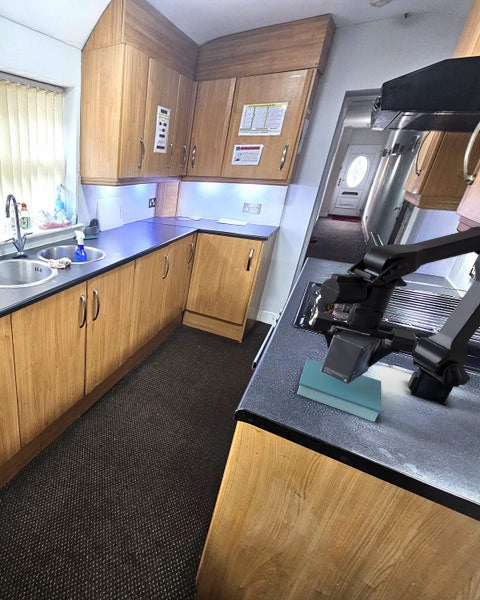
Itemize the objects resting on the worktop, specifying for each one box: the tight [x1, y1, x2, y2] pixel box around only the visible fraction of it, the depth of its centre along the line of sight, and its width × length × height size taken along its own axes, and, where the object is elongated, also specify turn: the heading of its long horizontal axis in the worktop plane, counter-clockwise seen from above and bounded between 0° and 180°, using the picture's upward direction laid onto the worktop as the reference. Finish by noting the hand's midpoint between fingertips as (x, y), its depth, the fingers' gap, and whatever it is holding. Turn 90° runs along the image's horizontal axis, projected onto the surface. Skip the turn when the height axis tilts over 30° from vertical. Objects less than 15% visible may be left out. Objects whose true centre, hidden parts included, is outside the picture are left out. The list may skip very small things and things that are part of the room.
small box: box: [320, 330, 381, 384], centre depth 79 cm, size 11×6×10 cm, turn 120°
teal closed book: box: [296, 358, 383, 423], centre depth 83 cm, size 16×14×4 cm
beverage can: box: [308, 294, 337, 326], centre depth 115 cm, size 6×6×12 cm
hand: (348, 360), depth 80 cm, fingers closed on small box, 7 cm apart
